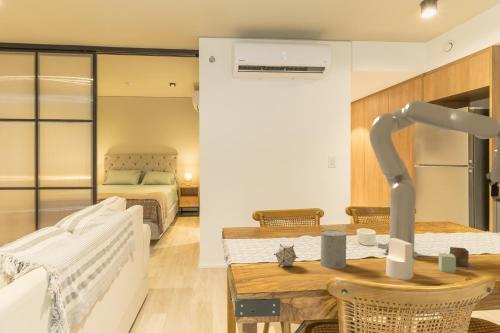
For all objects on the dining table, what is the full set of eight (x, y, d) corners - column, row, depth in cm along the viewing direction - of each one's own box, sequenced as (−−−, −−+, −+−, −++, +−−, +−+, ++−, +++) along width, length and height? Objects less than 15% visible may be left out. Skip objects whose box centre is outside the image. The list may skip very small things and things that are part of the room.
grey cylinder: (318, 267, 134) (319, 234, 133) (322, 259, 143) (322, 229, 142) (344, 270, 130) (345, 236, 130) (347, 262, 139) (347, 231, 139)
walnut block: (453, 266, 134) (453, 250, 134) (449, 262, 139) (450, 247, 139) (468, 267, 133) (468, 251, 132) (464, 263, 138) (464, 248, 137)
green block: (441, 272, 128) (441, 256, 128) (438, 268, 133) (438, 252, 132) (455, 274, 127) (455, 257, 127) (451, 270, 131) (452, 253, 131)
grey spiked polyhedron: (289, 275, 136) (305, 253, 136) (285, 274, 128) (301, 251, 129) (271, 260, 140) (287, 239, 140) (266, 258, 132) (282, 236, 133)
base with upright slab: (419, 278, 123) (420, 243, 122) (397, 280, 120) (398, 245, 119) (401, 269, 131) (402, 237, 131) (380, 272, 129) (381, 239, 128)
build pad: (448, 268, 133) (448, 267, 133) (442, 261, 141) (442, 260, 141) (476, 270, 130) (476, 269, 130) (468, 263, 139) (468, 262, 139)
